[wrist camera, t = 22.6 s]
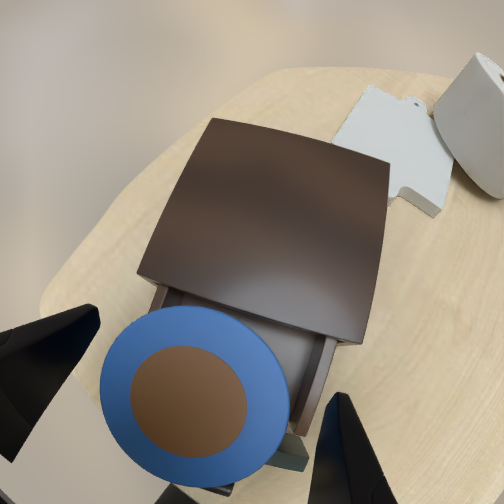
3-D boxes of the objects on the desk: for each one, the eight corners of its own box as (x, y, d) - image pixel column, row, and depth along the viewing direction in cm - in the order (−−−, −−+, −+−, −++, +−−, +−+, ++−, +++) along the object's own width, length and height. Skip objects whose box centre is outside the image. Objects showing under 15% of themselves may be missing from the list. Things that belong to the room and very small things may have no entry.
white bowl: (459, 98, 30) (494, 56, 20) (516, 181, 27) (561, 148, 17) (412, 106, 26) (458, 44, 16) (489, 217, 23) (556, 174, 13)
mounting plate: (427, 237, 24) (436, 229, 23) (316, 170, 27) (320, 158, 25) (452, 134, 29) (459, 125, 27) (371, 86, 32) (374, 76, 30)
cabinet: (335, 346, 22) (362, 344, 15) (166, 293, 24) (135, 273, 17) (366, 202, 26) (390, 162, 20) (221, 163, 28) (211, 117, 21)
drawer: (277, 490, 17) (280, 519, 12) (124, 435, 19) (96, 449, 14) (342, 302, 22) (361, 289, 17) (185, 254, 24) (167, 232, 19)
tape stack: (283, 402, 19) (311, 468, 7) (198, 421, 18) (128, 491, 7) (260, 320, 21) (259, 282, 9) (177, 340, 20) (82, 325, 9)
